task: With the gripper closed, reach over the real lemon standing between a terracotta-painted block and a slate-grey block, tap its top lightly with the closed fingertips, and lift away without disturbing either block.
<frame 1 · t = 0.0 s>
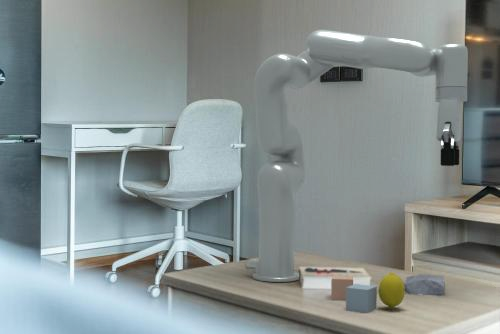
hand: (450, 165, 181), 31 cm above the table, fingers open, 9 cm apart
lemon: (391, 309, 162), on the table
slate block: (361, 309, 161), on the table
terracotta block: (342, 298, 173), on the table
stone block: (423, 292, 184), on the table
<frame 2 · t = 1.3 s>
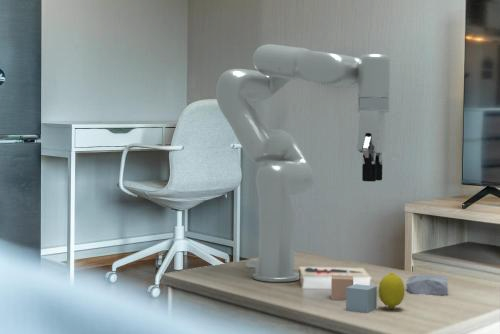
hand: (372, 180, 178), 28 cm above the table, fingers open, 6 cm apart
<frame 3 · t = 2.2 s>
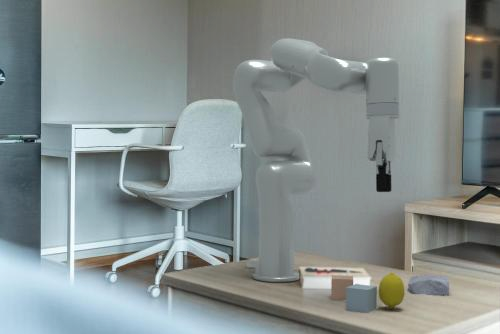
hand: (383, 191, 170), 25 cm above the table, fingers closed
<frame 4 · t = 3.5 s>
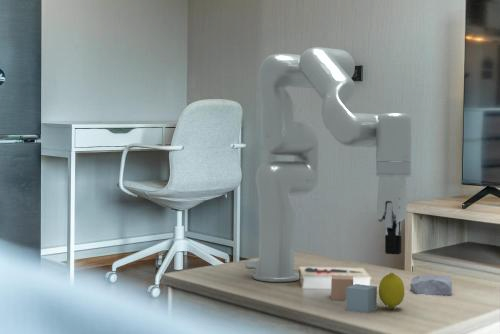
hand: (393, 253, 161), 12 cm above the table, fingers closed
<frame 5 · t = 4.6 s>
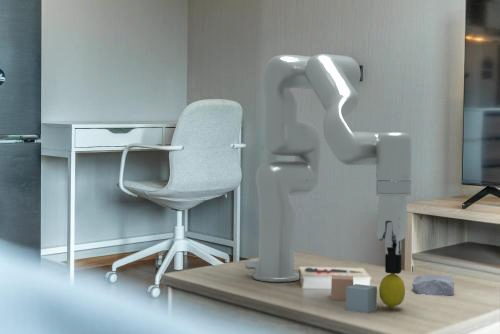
hand: (393, 272, 161), 8 cm above the table, fingers closed
lemon: (391, 309, 162), on the table, touching gripper
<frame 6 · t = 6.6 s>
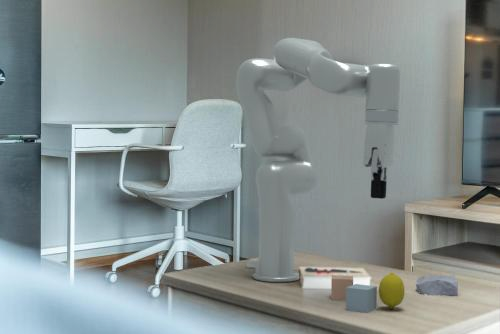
hand: (378, 197, 170), 24 cm above the table, fingers closed
lemon: (391, 309, 162), on the table
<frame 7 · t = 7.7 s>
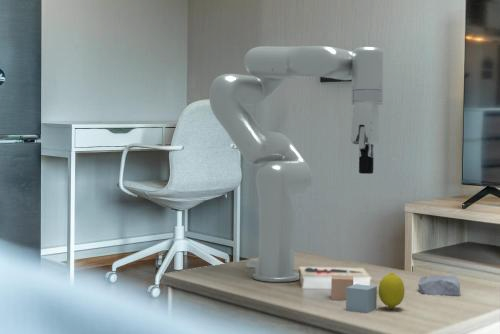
hand: (366, 173, 180), 29 cm above the table, fingers closed
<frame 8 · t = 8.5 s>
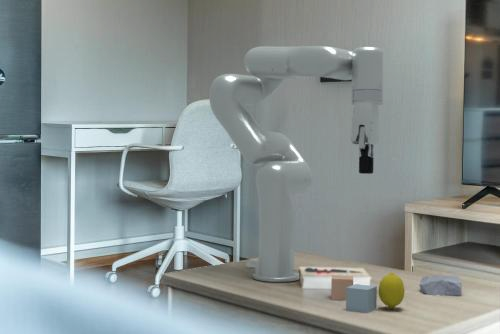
hand: (366, 173, 180), 29 cm above the table, fingers closed
at the end: lemon inside the target area (0.0 cm from its centre), on the table; terracotta block moved 0.1 cm from its start; slate block moved 0.1 cm from its start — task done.
